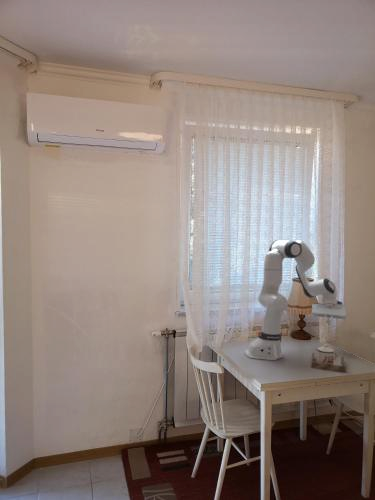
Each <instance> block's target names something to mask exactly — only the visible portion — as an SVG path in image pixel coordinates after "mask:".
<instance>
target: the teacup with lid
mask: <svg viewBox="0 0 375 500" xmlns="http://www.w3.org/2000/svg"><path fill="white" fill-rule="evenodd" d="M316 350H317V359H316V362H318V363H326V364H333V365H334V361H335V360H337V359H338V353H337V352H335V350H334V349H333V348H331V347H330V346H328V344H327V343H326V344H324V345H322V346H319V347H317V349H316Z"/></svg>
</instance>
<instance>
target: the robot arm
mask: <svg viewBox="0 0 375 500" xmlns="http://www.w3.org/2000/svg"><path fill="white" fill-rule="evenodd" d="M315 258H316V257H315V256H314V253H313V252H312V251H311V249H310V248H309V246H308V245H307V244H306V243H305V242H304V241H303V240H301V239H299V240H298V239H297V240H288V239H276V240H274V241H272V242H271V243H270V244H269V249H268V252H267V253H266V254H265V257H264V263H263V281H262V287H261V290H260V292H259V293H258V302H259V304H260V305H261V306H262V307H263V308H266V310H265V314H264V317H263V318H262V320H261V322H262V326H261V331H260V330H257V331H256V334H257V335H258V337H257V338H255V339H254V340H253V341H251V342H250V343H249V347H248V349H246V350H244V355H245V356H246V357H247V358H249V359H257V360H268V361H277V360H278V359H281V358H283V353H282V345H281V343H282V332H281V329H282V320H283V319H282V318H283V316H284V311H286V310H287V308H288V305H289V302H288V300H287V298H286V297H285V296H284V295H283V294H281V293H279V289H280V286H281V284H282V283H283V268H284V267H283V262H284V259H294V261H295V262H296V265H295V271H296V275H297V278H298V280H299V283H300V284H301V287H302V291H303V294H304V295H305V296H306V297H308V298H315V297H319V296H322V299H321V303H319V302H314V303H312V304H311V308H312V310H311V315H312V317H321V318H324V320H325V324H332V321H333V319H336V320H337V319H339V320H345V319H346V318H347V311H346V307H345V303H344V302H343V301H340V300H338V299H337V297H338V296H337V294H338V291H337V286H336V284H335V283H334V282H332V281H331V280H330V279H328V278H322V279H318V280H313V281H309V279H308V277H307V275H306V272H307V271H309V270H310V269H311V268H312V267H313V266H314V264H315V260H316V259H315ZM328 318H329V319H328Z"/></svg>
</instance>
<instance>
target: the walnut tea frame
mask: <svg viewBox="0 0 375 500" xmlns="http://www.w3.org/2000/svg"><path fill="white" fill-rule="evenodd" d="M311 353H312V354H311V361H310V362H311V363H310V364H311V365H310V367H311V368H313V369H320V370H327V371H332V372H333V371H334V372H340V373H346V362H345V358H344V356H341V361H340V363H341V365H340V364H334V363H333V364H326V363H318V362H317V361H315V353H314V352H311Z"/></svg>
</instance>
